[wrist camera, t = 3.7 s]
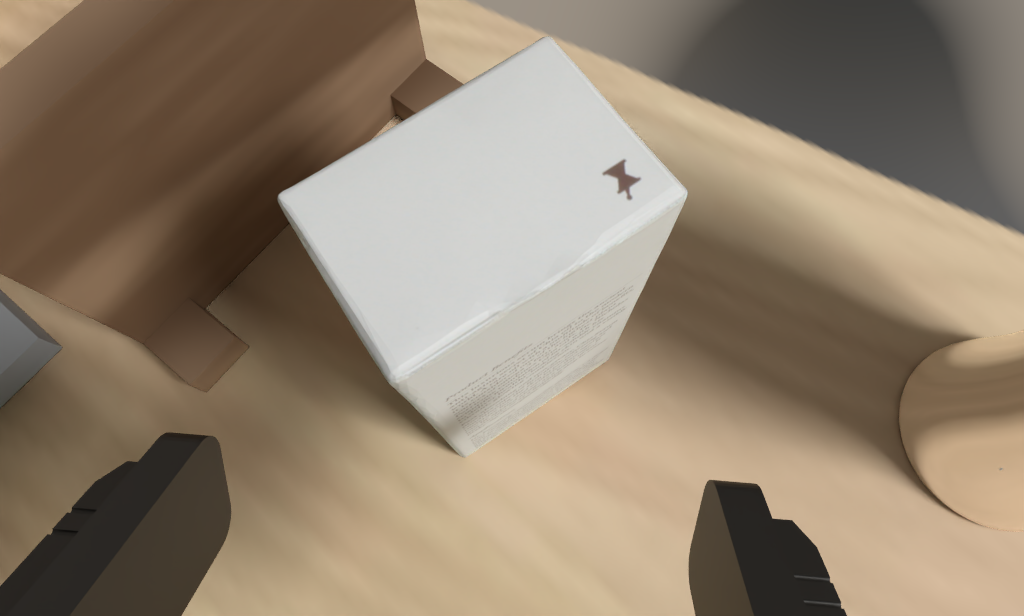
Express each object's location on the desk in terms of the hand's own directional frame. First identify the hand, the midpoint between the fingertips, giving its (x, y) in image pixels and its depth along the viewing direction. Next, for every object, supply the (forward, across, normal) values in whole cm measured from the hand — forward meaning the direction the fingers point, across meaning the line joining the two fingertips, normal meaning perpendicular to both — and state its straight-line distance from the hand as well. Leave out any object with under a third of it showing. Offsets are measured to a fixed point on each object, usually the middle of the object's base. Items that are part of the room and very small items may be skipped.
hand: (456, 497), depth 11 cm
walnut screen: (+15, +8, 0) cm, 17 cm away
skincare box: (+11, 0, +4) cm, 12 cm away
